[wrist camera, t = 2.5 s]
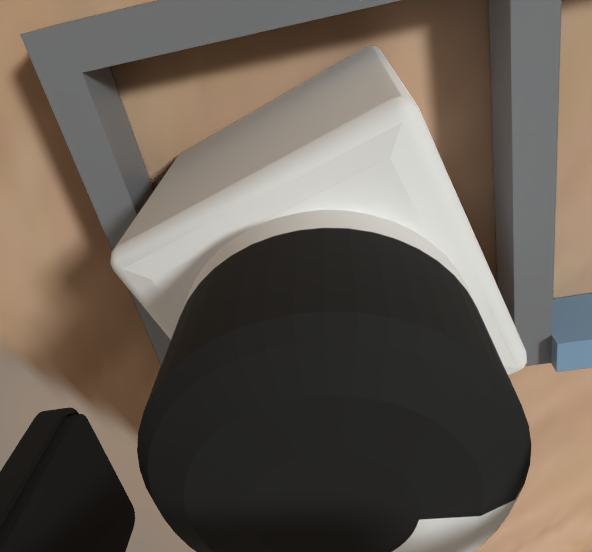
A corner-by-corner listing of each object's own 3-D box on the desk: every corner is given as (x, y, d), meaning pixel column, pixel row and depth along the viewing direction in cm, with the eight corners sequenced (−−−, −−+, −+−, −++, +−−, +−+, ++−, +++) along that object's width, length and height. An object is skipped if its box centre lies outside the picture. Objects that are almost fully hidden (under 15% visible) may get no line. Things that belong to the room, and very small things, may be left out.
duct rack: (52, 25, 16) (10, 37, 14) (1091, -226, 12) (1254, -263, 10) (191, 377, 22) (178, 422, 20) (895, 276, 19) (970, 317, 17)
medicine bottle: (173, 155, 18) (-28, 438, 7) (375, 38, 16) (488, 200, 5) (284, 316, 21) (251, 677, 10) (464, 235, 19) (645, 580, 8)
